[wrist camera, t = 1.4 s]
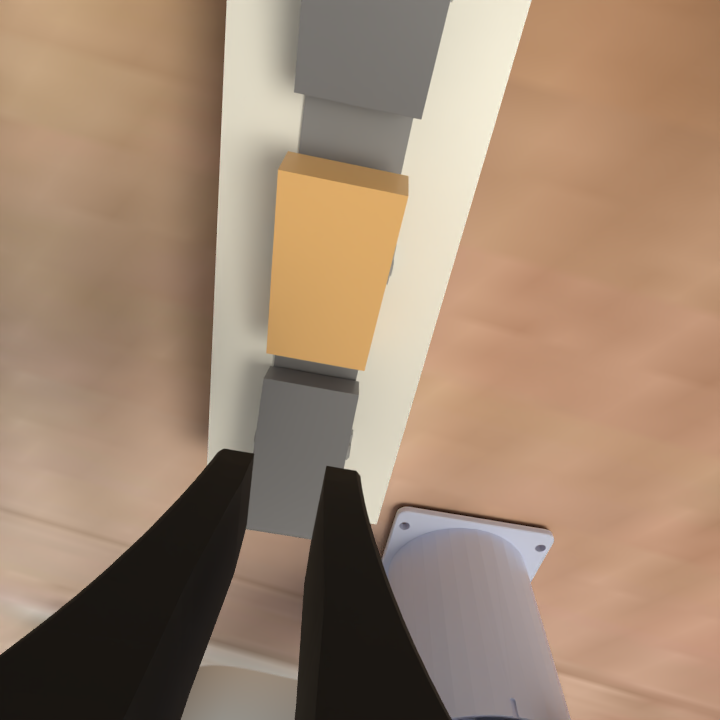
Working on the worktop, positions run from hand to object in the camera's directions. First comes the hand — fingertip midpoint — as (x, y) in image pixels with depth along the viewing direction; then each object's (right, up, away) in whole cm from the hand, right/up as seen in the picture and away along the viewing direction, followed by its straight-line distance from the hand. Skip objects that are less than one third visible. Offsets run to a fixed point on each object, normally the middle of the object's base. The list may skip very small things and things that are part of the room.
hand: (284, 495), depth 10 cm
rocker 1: (0, 0, +8) cm, 8 cm away
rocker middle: (+1, +6, +4) cm, 7 cm away
